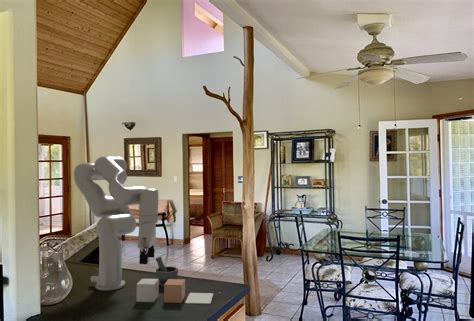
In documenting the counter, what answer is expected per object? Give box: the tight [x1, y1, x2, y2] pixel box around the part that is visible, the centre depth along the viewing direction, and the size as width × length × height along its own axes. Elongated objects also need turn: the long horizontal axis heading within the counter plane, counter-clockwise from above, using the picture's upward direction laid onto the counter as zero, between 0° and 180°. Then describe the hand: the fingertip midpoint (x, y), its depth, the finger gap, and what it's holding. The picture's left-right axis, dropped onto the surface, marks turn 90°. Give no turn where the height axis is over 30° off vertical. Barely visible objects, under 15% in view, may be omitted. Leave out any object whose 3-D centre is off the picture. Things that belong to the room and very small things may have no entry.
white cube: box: [136, 278, 160, 303], centre depth 149 cm, size 7×7×7 cm
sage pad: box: [184, 292, 214, 305], centre depth 149 cm, size 10×11×1 cm
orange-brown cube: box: [163, 278, 186, 304], centre depth 149 cm, size 7×7×7 cm
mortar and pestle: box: [155, 256, 179, 288], centre depth 167 cm, size 11×9×12 cm
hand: (147, 260), depth 150 cm, fingers open, 9 cm apart
